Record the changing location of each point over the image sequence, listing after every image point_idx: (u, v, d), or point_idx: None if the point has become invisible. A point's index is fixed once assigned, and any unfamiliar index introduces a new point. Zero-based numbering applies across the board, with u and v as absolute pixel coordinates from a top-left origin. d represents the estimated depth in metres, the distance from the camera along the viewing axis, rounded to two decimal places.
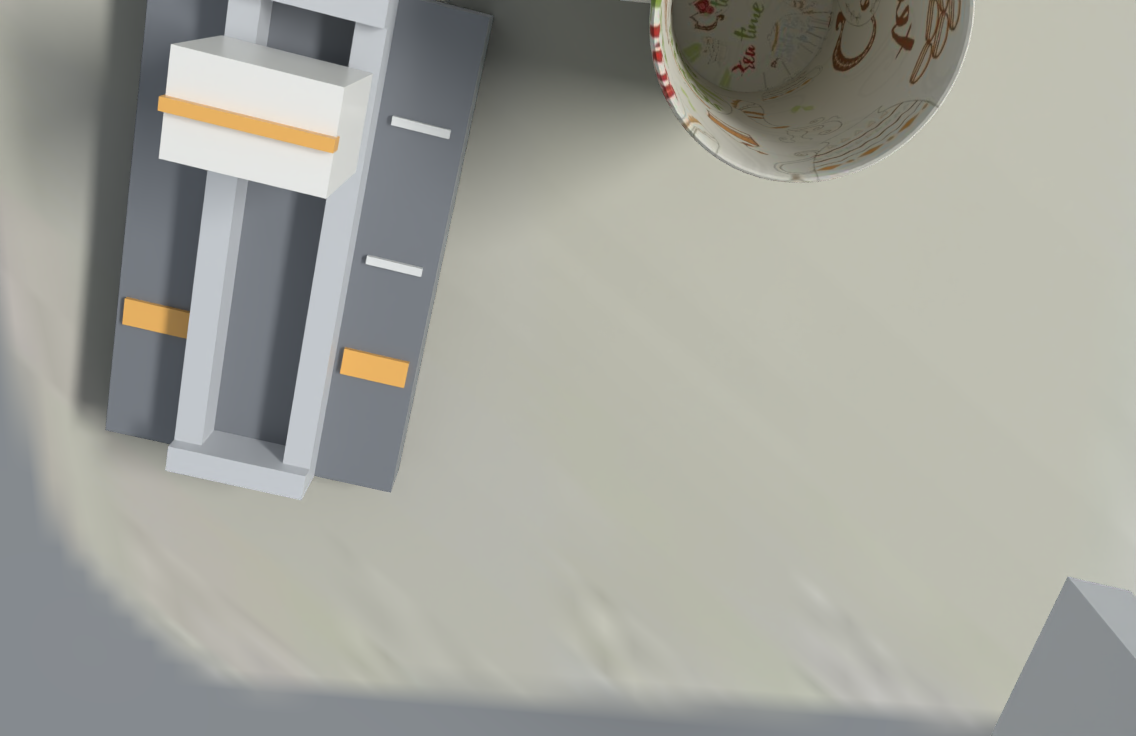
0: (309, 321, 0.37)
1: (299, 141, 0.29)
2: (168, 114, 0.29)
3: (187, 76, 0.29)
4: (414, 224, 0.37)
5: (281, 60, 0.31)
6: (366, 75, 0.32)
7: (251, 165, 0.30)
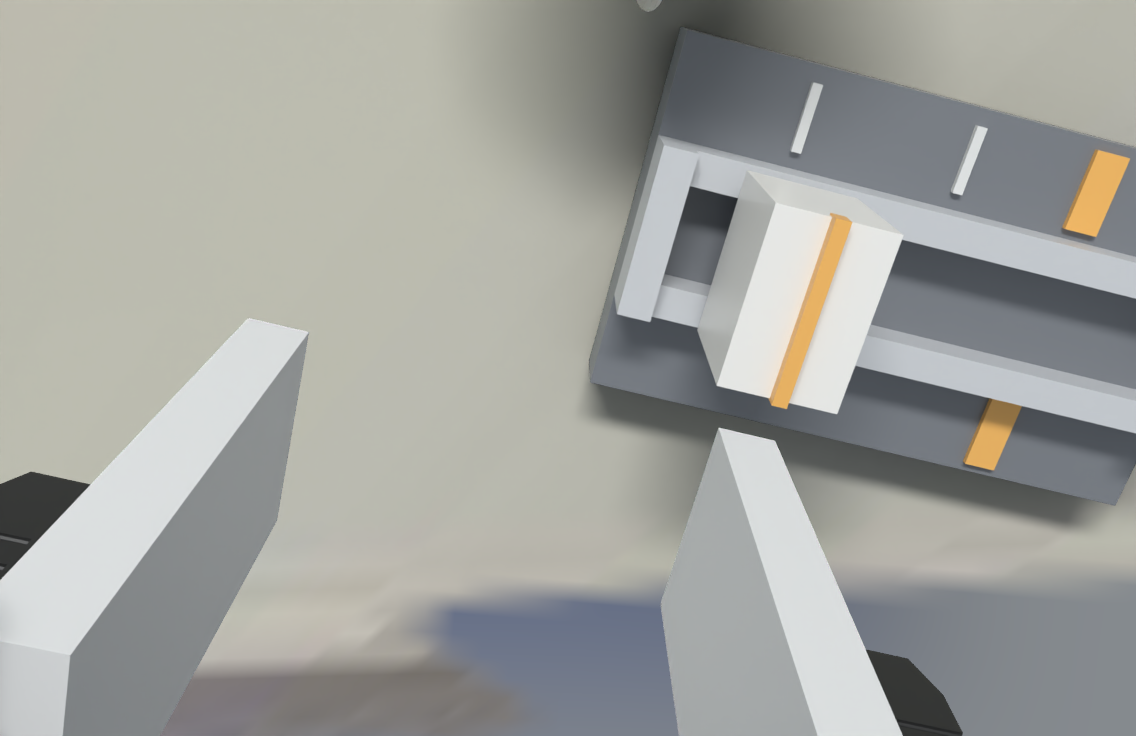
0: (1028, 267, 0.30)
1: (834, 259, 0.25)
2: None
3: (752, 373, 0.26)
4: (920, 132, 0.30)
5: (733, 270, 0.27)
6: (751, 177, 0.28)
7: (855, 316, 0.26)
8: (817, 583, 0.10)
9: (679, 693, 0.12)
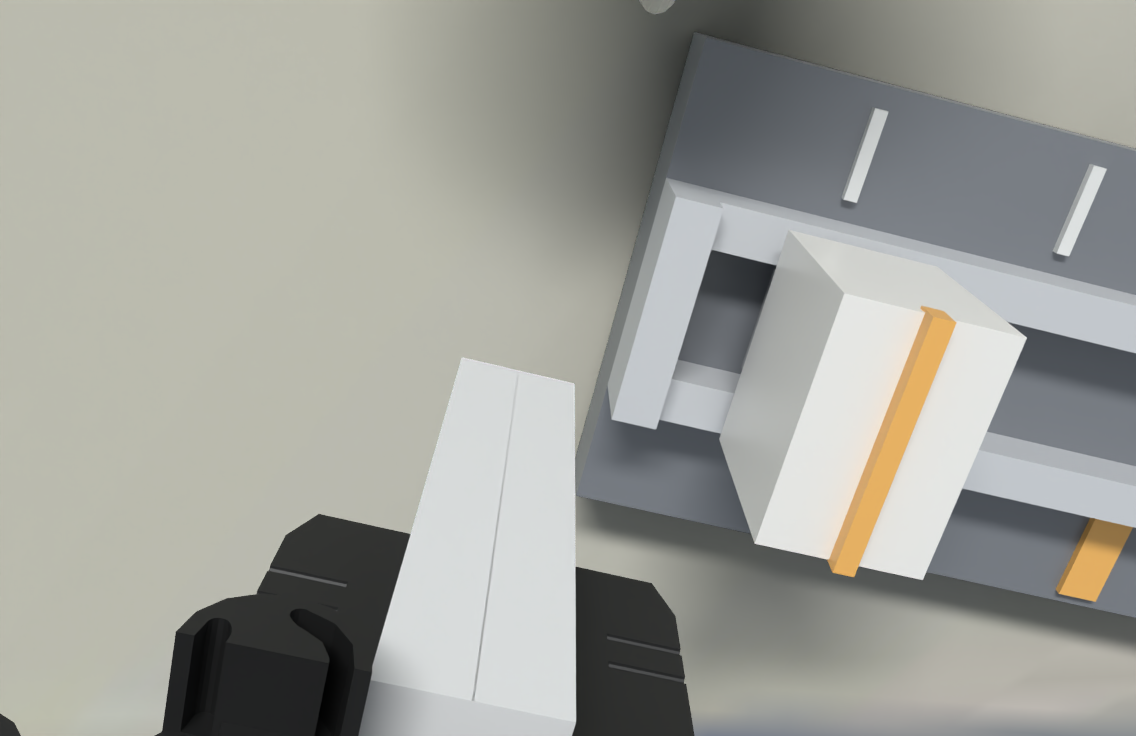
0: None
1: (928, 374, 0.17)
2: None
3: (805, 527, 0.19)
4: (1015, 174, 0.23)
5: (774, 374, 0.20)
6: (797, 242, 0.20)
7: (953, 449, 0.18)
8: (552, 505, 0.10)
9: None
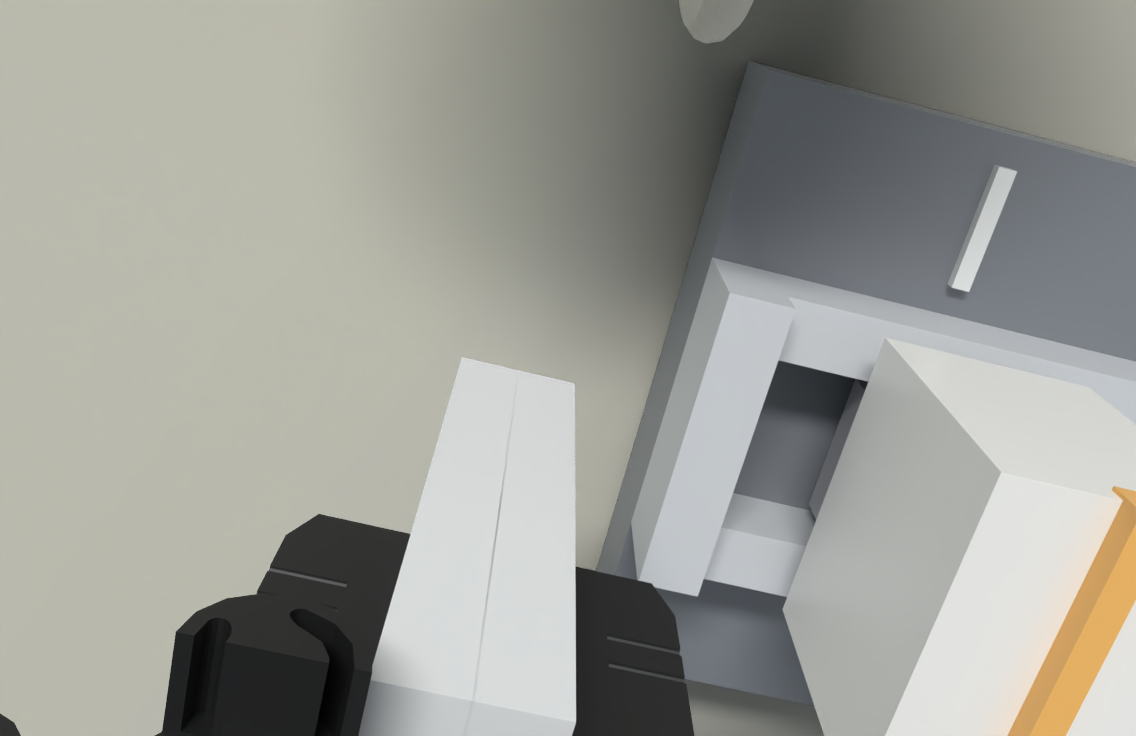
0: None
1: (1127, 594, 0.11)
2: None
3: None
4: None
5: (872, 552, 0.14)
6: (901, 360, 0.14)
7: None
8: (552, 505, 0.10)
9: None
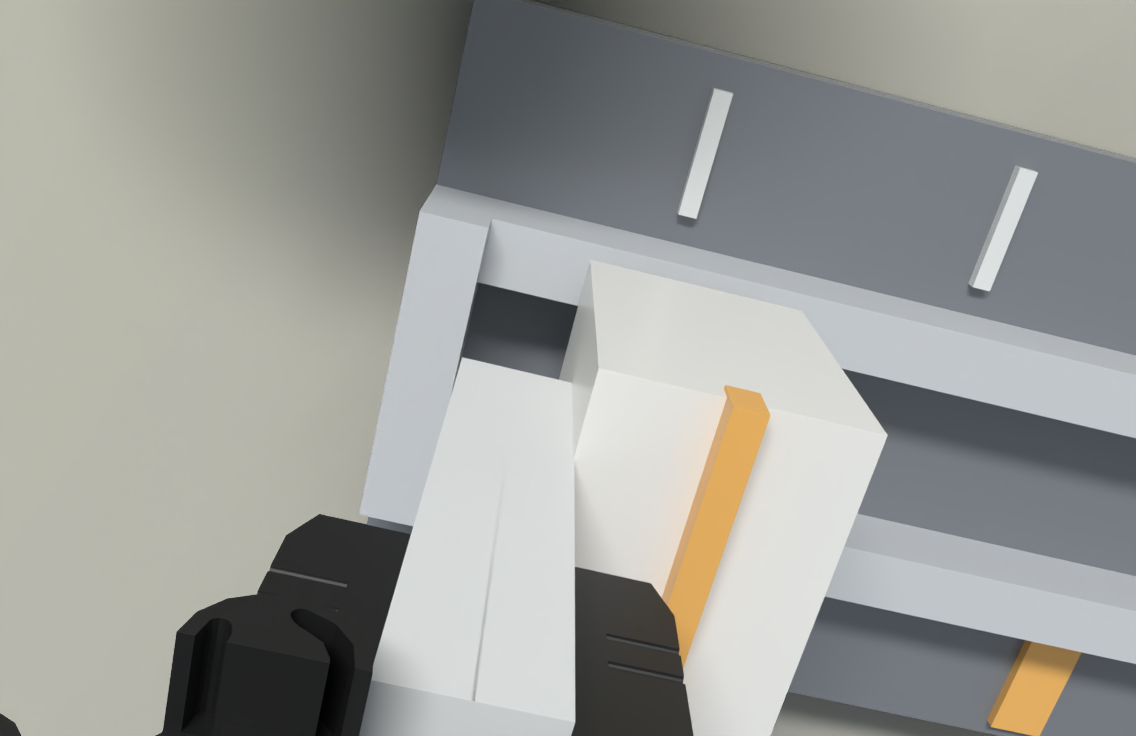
0: (1111, 425, 0.17)
1: (733, 493, 0.11)
2: None
3: None
4: (913, 180, 0.17)
5: None
6: (591, 279, 0.14)
7: (784, 598, 0.12)
8: (551, 506, 0.10)
9: None
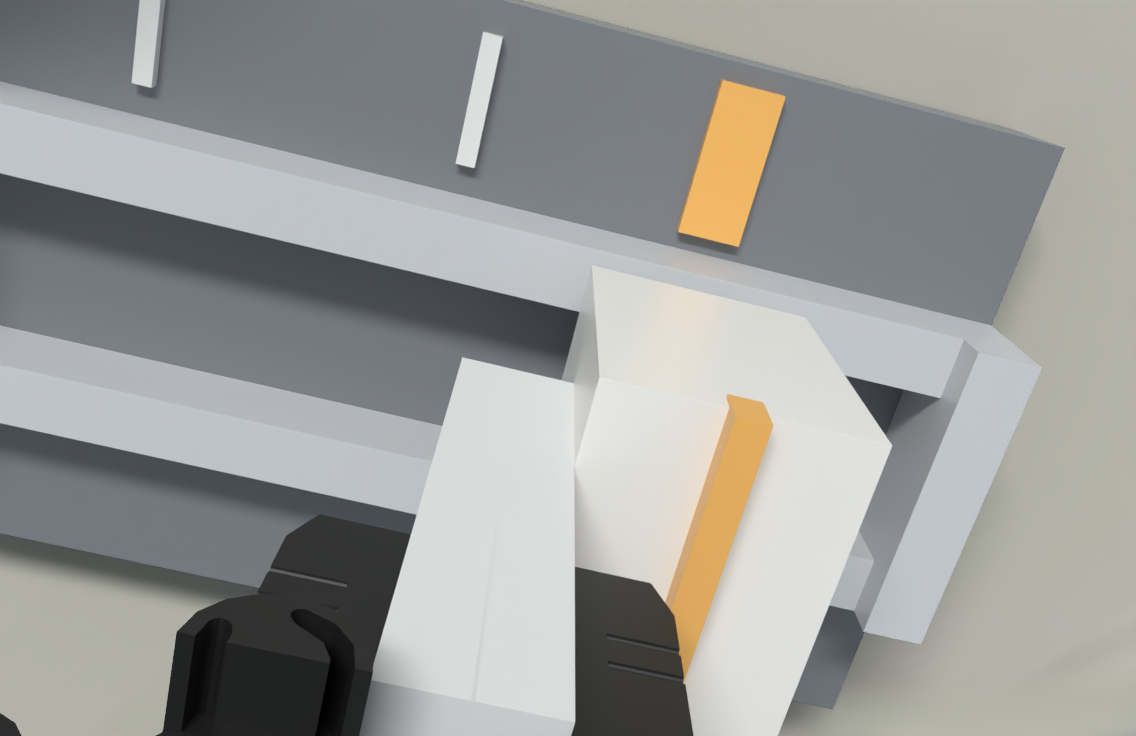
0: None
1: (735, 504, 0.11)
2: None
3: None
4: (379, 47, 0.16)
5: None
6: (592, 285, 0.14)
7: (787, 610, 0.12)
8: (552, 506, 0.10)
9: None
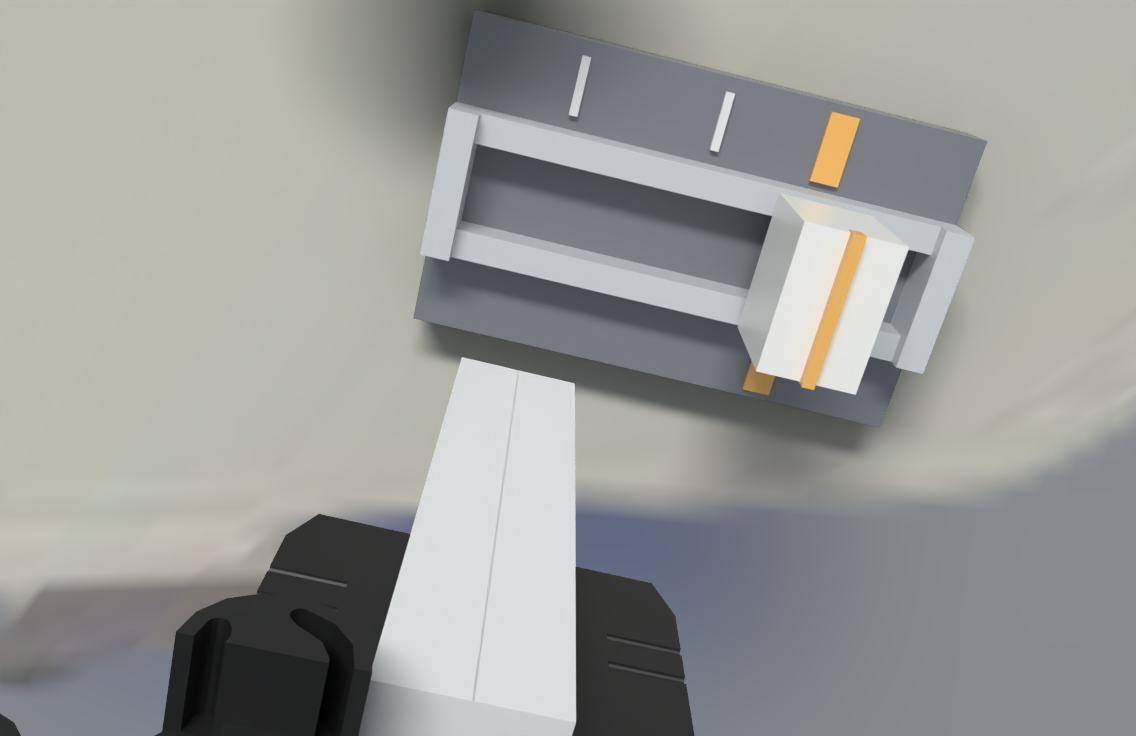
0: (772, 212, 0.35)
1: (852, 267, 0.30)
2: (817, 381, 0.32)
3: (785, 361, 0.32)
4: (678, 98, 0.35)
5: (769, 277, 0.33)
6: (783, 199, 0.34)
7: (870, 313, 0.31)
8: (552, 506, 0.10)
9: None
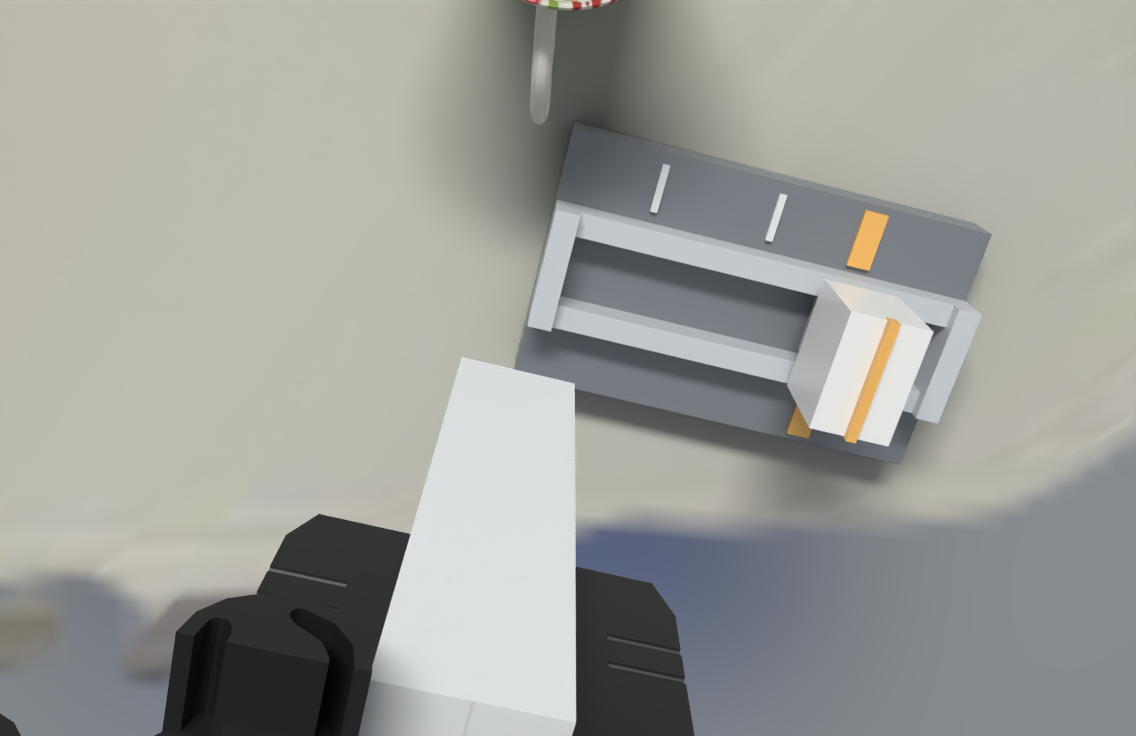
0: (816, 293, 0.43)
1: (889, 348, 0.38)
2: (857, 435, 0.40)
3: (832, 420, 0.40)
4: (740, 198, 0.43)
5: (817, 349, 0.41)
6: (828, 285, 0.41)
7: (901, 383, 0.39)
8: (553, 506, 0.10)
9: None
